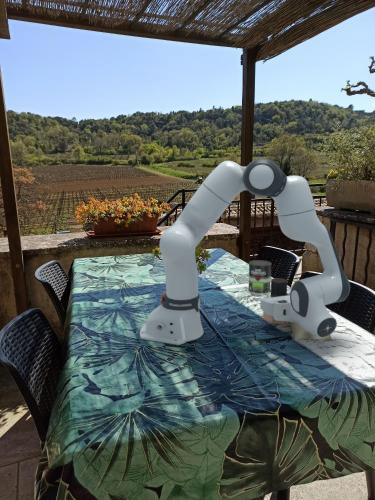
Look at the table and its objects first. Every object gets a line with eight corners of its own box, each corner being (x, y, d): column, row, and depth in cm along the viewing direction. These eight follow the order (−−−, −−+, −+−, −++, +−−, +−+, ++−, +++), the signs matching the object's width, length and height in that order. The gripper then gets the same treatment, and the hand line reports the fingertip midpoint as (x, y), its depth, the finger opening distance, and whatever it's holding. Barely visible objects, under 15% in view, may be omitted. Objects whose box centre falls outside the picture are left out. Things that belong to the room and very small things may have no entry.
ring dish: (264, 322, 127) (264, 315, 126) (262, 311, 138) (262, 304, 137) (294, 324, 125) (294, 316, 125) (290, 312, 136) (291, 305, 135)
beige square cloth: (294, 338, 114) (294, 337, 114) (290, 323, 126) (290, 322, 126) (332, 340, 112) (332, 339, 112) (324, 325, 124) (324, 323, 124)
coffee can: (268, 296, 155) (269, 266, 152) (246, 293, 159) (246, 264, 156) (272, 289, 164) (273, 260, 161) (250, 287, 168) (251, 259, 165)
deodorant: (286, 321, 128) (288, 283, 125) (270, 320, 129) (271, 282, 126) (285, 315, 134) (286, 278, 130) (269, 314, 135) (270, 277, 132)
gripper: (324, 297, 119) (301, 285, 132) (271, 303, 114) (253, 290, 127) (323, 313, 121) (300, 300, 134) (271, 321, 115) (253, 306, 129)
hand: (277, 295), depth 130 cm, fingers closed on deodorant, 6 cm apart
